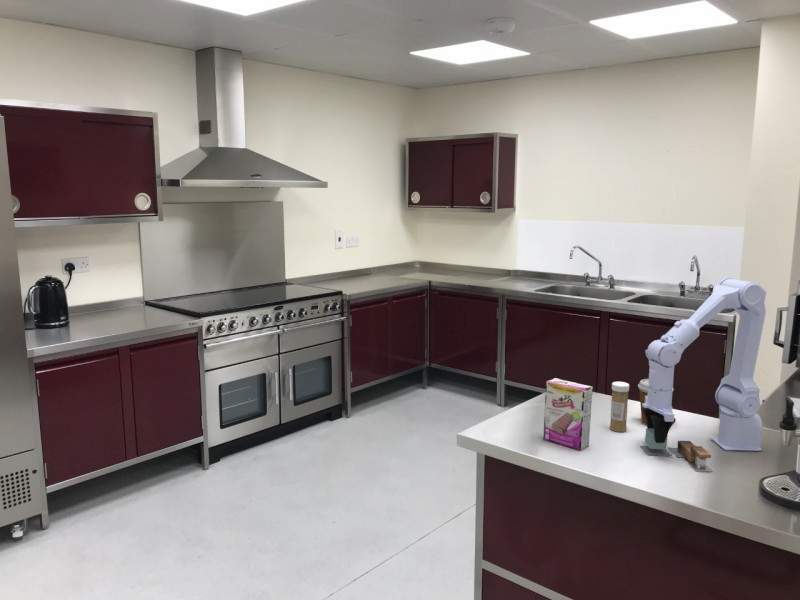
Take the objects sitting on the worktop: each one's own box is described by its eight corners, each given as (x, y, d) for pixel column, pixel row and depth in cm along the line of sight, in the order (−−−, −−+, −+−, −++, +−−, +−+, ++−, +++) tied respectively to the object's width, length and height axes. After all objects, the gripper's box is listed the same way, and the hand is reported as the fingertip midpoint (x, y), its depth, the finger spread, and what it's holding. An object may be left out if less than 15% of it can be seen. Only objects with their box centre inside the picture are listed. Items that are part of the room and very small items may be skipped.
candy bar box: (542, 440, 166) (544, 381, 164) (551, 435, 170) (554, 377, 167) (580, 451, 159) (584, 389, 156) (589, 446, 162) (593, 385, 160)
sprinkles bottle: (629, 430, 174) (632, 384, 172) (619, 433, 171) (622, 386, 169) (616, 425, 178) (619, 380, 176) (605, 428, 175) (608, 382, 173)
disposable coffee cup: (649, 415, 186) (652, 376, 185) (678, 425, 178) (681, 384, 177) (628, 420, 182) (631, 381, 180) (656, 431, 174) (659, 389, 172)
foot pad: (691, 448, 161) (691, 448, 161) (701, 458, 155) (701, 457, 155) (668, 448, 161) (668, 447, 161) (677, 457, 155) (677, 456, 155)
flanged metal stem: (705, 464, 151) (706, 452, 151) (712, 471, 147) (713, 458, 147) (688, 464, 151) (689, 451, 151) (695, 471, 147) (696, 458, 147)
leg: (710, 470, 147) (712, 454, 147) (697, 469, 147) (699, 454, 147) (689, 450, 159) (690, 436, 159) (677, 449, 159) (678, 435, 159)
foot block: (660, 443, 161) (661, 428, 161) (666, 449, 157) (667, 434, 157) (644, 442, 161) (646, 428, 161) (650, 448, 157) (651, 433, 157)
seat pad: (662, 446, 162) (662, 446, 162) (672, 455, 156) (672, 455, 156) (639, 446, 163) (639, 445, 163) (647, 455, 157) (647, 454, 157)
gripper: (634, 379, 164) (631, 428, 166) (654, 396, 150) (650, 449, 152) (661, 379, 164) (657, 429, 166) (684, 396, 150) (680, 450, 152)
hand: (656, 439), depth 159 cm, fingers closed on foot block, 4 cm apart
